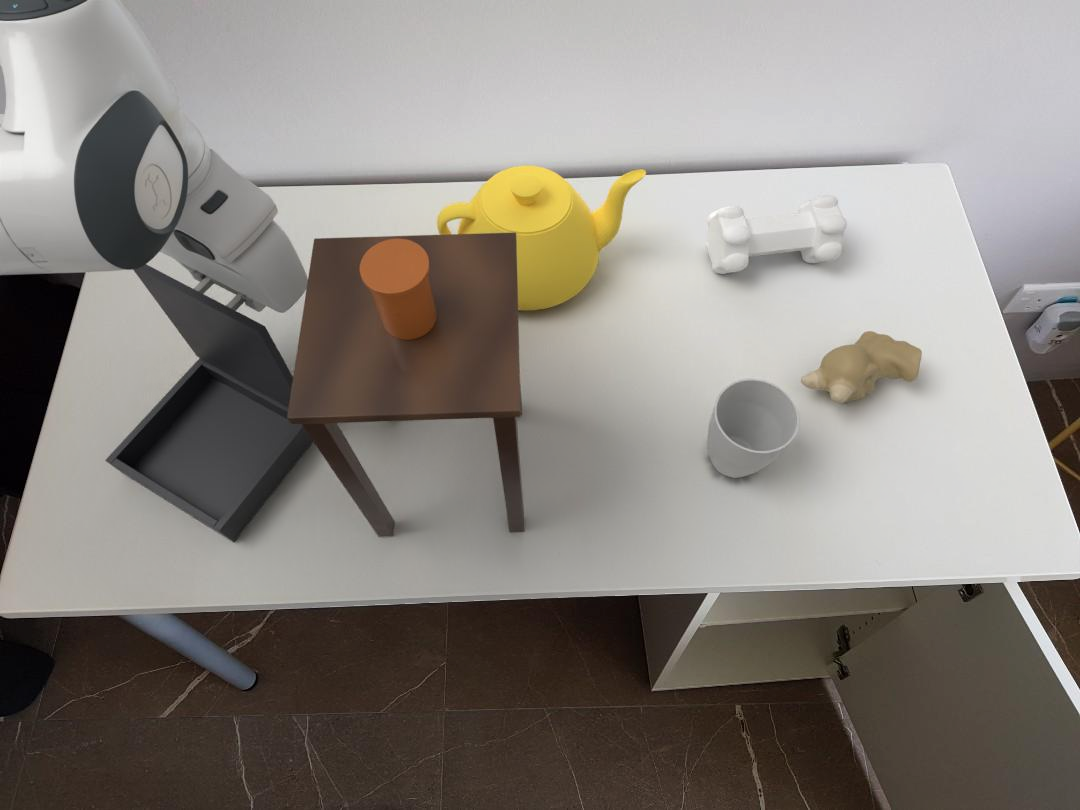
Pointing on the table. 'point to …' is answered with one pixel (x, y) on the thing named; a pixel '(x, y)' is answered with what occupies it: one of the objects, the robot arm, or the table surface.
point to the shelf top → (419, 364)
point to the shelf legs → (371, 503)
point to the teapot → (544, 228)
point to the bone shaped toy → (775, 234)
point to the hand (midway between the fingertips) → (233, 291)
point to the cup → (750, 426)
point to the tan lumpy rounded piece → (864, 366)
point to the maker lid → (221, 333)
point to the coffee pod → (400, 287)
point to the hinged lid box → (213, 448)
